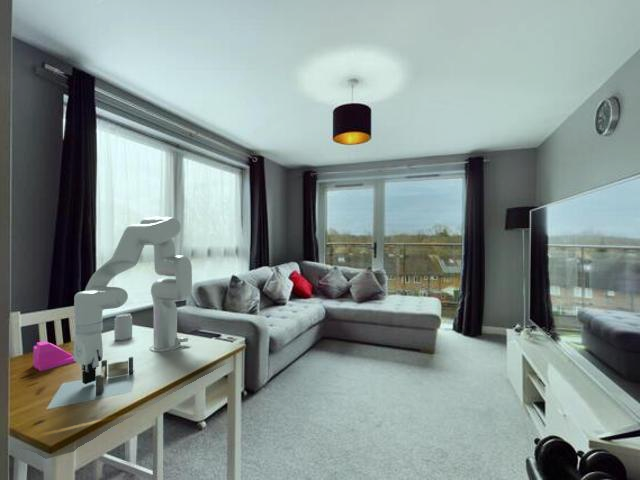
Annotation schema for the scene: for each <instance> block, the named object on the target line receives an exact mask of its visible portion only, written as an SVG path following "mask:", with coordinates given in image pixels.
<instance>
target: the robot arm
mask: <svg viewBox="0 0 640 480" xmlns="http://www.w3.org/2000/svg"><path fill="white" fill-rule="evenodd" d="M180 231H181V223H180V221H179V219H177V218H176V217H173V216H172V217H171V216H170V217H169V216H165V217H164V216H163V217H161V216H154V217H153V216H152V217H145V218H143V219H141V221H140V222H139V223H137V224H131V225H130V224H129V225H128V226H127V227H126V228H125V229H124V231H123V233H122V235H121V237H120V240H119V241H118V244H117V246H116V248H115V251H114V253H113V255H112V257H111V258H110V259H109V260H107V261H105V262H104V263H103V264H102V265H101V266H100V267H99V268H98V269H97V270H96V271H95V272H94V273H93V274H92V275H91V277H90V278H89V280H88V282H87V284H86V286H85V289H84V290H83V291H79V292H76V294H75V295H74V298H73V300H74V301H73V302H74V303H73V305H74V306H73V308H74V309H73V311H74V314H73V315H74V318H73V320H74V338H73V352H72V353H73V354H72V355H73V359H74V361H76V363H78V364H81V365H80V366H81V371H82V373H81V374H82V375H81V377H82V379H81V380H82V383H84V384H88V383H90V382H93V381H95V380H96V376H97V373H96V370H97V368H98V367H99V366H100V364H99V362H101V361H103V356H104V355H103V354H104V353H103V352H104V351H103V350H104V349H103V337H102V331H103V311H104V310H110V309H111V310H112V309H113V310H114V309H117V308H120V307H122V306H124V305H125V304H126V303H127V301H128V298H129V297H128V296H129V295H128V292H127V290H125V289H124V288H122V287H117V286H108V285H109V283H110V282H111V281H112V279H114V278H115V277H116V276H118V275H119V274H122V273H123V272H126V271H128V270H130V269H133V268H134V267H136V266H137V264H138V263H139V260H140V257H141V255H142V253H143V249H144V248H145V247H146V246H153V252H154V253H153V256H154V258H153V259H154V260H153V261H154V262H153V263H154V272H155V273H156V274H157V275H158V276H160V277H174V278H160V279H157V280H155V281H154V282H153V283H152V285H151V288H150V295H151V298H152V304H153V305H152V307H153V344H152V345H150V347H149V351H150V352H153V353H163V352H164V353H166V352H170V351H173V350H178V349H179V348H180V347H181V346H182V344H181V343H185V342H189V336H188V337H187V336H186V337H185V336H181V337H180V336H178V307H177V303H176V302H175V301H179V302H180V301H182V302H183V301H186V300H188V299H189V298H190V297H191V295H192V293H193V292H192V291H193V267H192V266H193V265H192V262H191V260H190V259H189V258H188V257H187V256H185V255H179V254H178V255H177V254H176V247H175V242H174V240H173V239H174V238H175V237H177V236H178V235H179V233H180Z"/></svg>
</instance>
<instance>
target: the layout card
mask: <svg viewBox="0 0 640 480" xmlns="http://www.w3.org/2000/svg"><path fill="white" fill-rule="evenodd" d="M134 376H135V370H134V369H133V374H132V375H129V370H128V374H126V375H121V376H115V377H110V378H108V374H107V379H105V385H104V391H103V392H101V395H100V396H96V380H95V381H93V382H90V383H88V384H84V383H82V379H79V380H73V381H68V382H67V381H66V382H62V384H61V385H60V387H59V388H58V390H56V391H57V392H56V393H55V394H54V396H53V398H52V399H51V401H50V403H49V404H48V406H47V407H46V410H52V409H54V408H59V407H64V406H71V405H75V404H79V403H85V402H88V401H93V400H94V401H95V400H98V399H104V398H108V397H113V396H118V395H122V394H126V393H127V394H128V393H131V392H133V383H134V378H135V377H134Z"/></svg>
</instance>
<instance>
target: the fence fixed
mask: <svg viewBox="0 0 640 480" xmlns="http://www.w3.org/2000/svg"><path fill="white" fill-rule="evenodd" d="M100 363H101V365H100V367H101V368H100V369H101V370H100V371H102V366H105V367H106V369H105V374H106V377H105V379H107V375H108V378H110V377H115V376H121V375H126V374H128V371H129V375H132V374H133V370H134V356H129V357H128V360H122V361H115V362H109V363H108V360H107V359H104V360H103V359H102V360H101V361H100ZM100 395H101V374H98V375H97V374H96V396H100Z"/></svg>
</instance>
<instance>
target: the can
mask: <svg viewBox="0 0 640 480" xmlns="http://www.w3.org/2000/svg"><path fill="white" fill-rule="evenodd" d="M113 324H114V331H113V332H114V339H115V340H116V341H126V340H129V339H130V338H131V337H132V336H133V316H132V314H131V313H120V314H117V315H115V318H114V323H113Z"/></svg>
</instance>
